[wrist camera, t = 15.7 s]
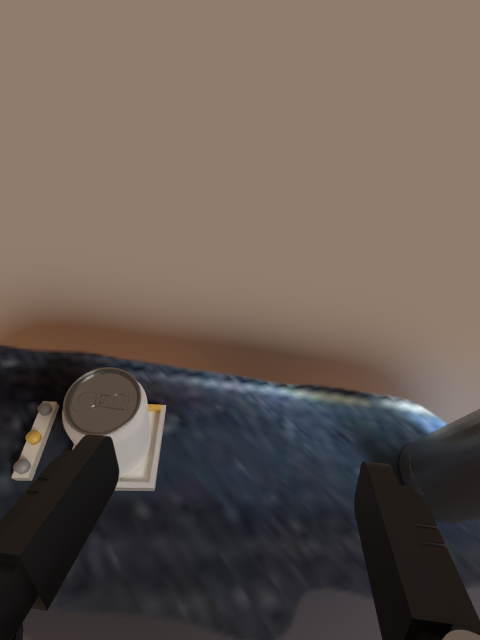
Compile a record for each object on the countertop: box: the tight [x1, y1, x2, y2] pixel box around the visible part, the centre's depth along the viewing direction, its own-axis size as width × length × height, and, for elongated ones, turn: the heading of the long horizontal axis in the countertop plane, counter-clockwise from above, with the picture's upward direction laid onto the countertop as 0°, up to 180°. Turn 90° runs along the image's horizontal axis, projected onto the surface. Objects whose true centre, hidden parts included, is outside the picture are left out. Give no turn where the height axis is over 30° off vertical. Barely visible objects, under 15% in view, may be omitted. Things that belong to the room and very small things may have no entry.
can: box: [62, 367, 150, 476], centre depth 28 cm, size 6×6×12 cm
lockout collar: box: [72, 404, 166, 491], centre depth 33 cm, size 9×9×2 cm
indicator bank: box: [12, 401, 59, 481], centre depth 31 cm, size 1×8×2 cm, turn 2°
